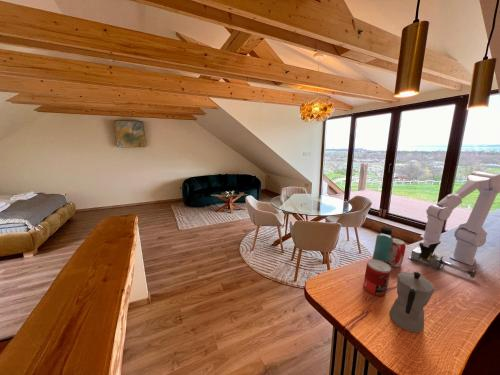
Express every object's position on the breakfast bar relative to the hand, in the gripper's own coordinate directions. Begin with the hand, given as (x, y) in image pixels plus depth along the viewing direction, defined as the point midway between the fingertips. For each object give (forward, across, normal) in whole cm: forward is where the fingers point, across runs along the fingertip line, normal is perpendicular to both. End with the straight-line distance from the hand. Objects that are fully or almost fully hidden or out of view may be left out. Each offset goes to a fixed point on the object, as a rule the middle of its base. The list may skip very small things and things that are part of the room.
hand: (426, 255), depth 103 cm
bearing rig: (+3, 0, 0) cm, 3 cm away
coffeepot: (+3, +50, +7) cm, 51 cm away
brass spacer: (+3, 0, 0) cm, 3 cm away
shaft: (+2, 0, +9) cm, 10 cm away
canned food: (+3, +42, -6) cm, 42 cm away
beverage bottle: (+3, +26, -11) cm, 28 cm away
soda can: (+3, +16, -9) cm, 18 cm away
